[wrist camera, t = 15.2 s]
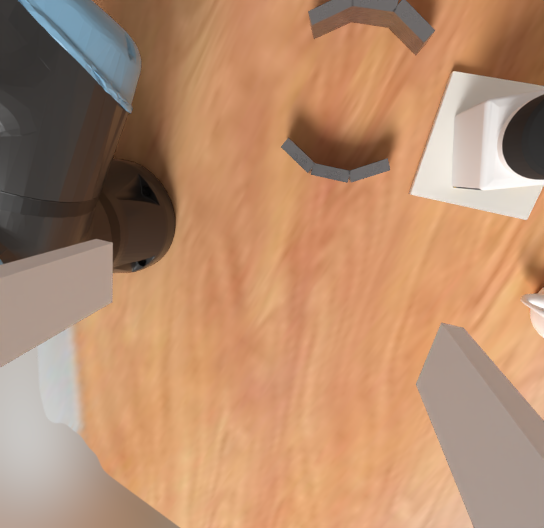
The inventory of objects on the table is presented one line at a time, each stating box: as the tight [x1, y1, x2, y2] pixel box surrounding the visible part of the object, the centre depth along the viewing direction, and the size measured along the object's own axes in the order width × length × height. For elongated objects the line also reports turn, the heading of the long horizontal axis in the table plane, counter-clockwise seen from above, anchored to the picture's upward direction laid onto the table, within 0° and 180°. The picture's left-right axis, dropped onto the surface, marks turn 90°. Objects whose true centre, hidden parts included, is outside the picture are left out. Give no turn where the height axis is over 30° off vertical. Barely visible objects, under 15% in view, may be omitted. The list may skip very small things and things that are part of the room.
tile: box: [409, 71, 544, 220], centre depth 30 cm, size 12×12×1 cm
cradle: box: [281, 0, 435, 182], centre depth 31 cm, size 12×16×3 cm
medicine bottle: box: [452, 90, 544, 190], centre depth 24 cm, size 7×7×12 cm
